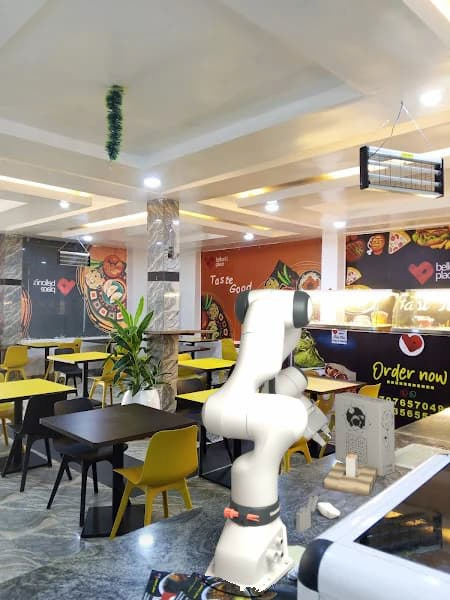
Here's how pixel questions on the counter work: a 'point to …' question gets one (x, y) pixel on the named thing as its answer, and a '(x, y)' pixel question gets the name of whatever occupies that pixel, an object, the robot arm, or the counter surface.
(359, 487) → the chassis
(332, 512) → the dumpling
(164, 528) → the counter surface
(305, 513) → the lighter
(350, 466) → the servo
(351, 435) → the cereal box
